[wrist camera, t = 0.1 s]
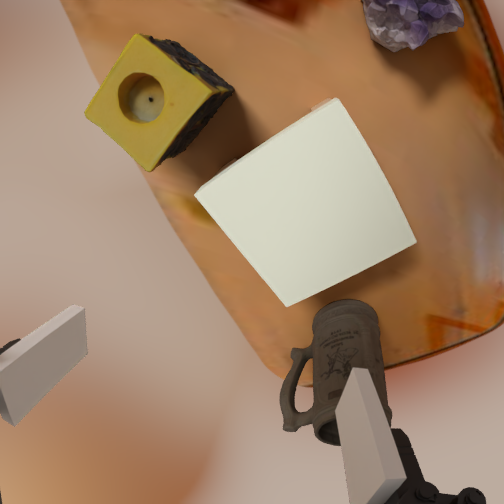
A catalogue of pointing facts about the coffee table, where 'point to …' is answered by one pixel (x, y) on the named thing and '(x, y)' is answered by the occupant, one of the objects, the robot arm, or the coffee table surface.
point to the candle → (156, 99)
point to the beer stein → (335, 366)
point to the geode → (410, 21)
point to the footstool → (309, 205)
